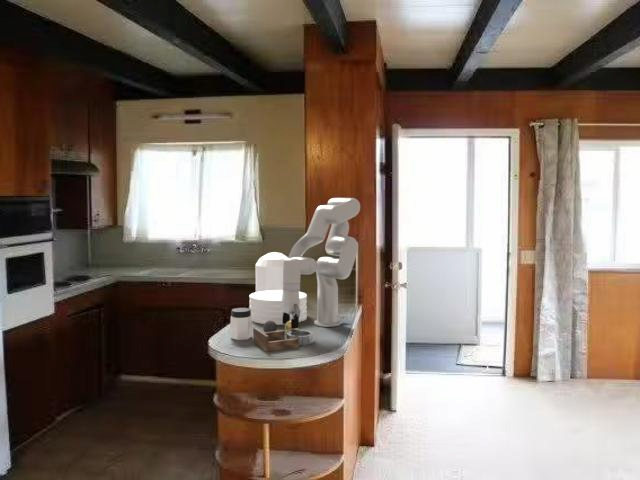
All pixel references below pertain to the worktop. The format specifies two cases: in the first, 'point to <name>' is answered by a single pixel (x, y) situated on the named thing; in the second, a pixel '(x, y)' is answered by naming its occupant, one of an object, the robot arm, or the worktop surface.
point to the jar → (241, 323)
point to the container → (270, 272)
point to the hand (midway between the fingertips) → (290, 325)
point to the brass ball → (289, 326)
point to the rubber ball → (269, 326)
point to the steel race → (301, 336)
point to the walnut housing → (264, 339)
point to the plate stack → (273, 306)
